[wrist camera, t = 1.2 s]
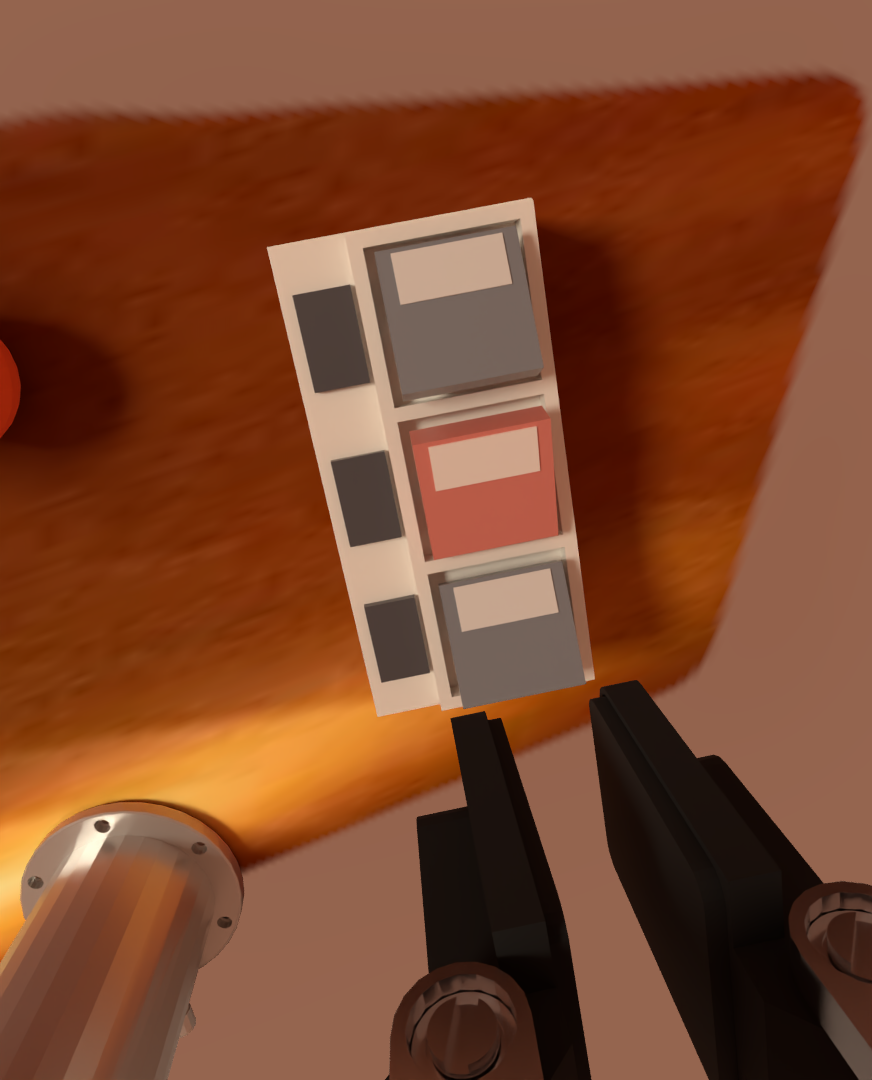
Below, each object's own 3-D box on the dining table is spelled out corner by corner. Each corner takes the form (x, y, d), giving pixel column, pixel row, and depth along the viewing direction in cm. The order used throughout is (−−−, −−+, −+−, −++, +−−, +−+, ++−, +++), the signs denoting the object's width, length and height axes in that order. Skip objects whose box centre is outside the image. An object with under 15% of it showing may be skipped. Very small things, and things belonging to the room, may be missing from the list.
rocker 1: (537, 375, 29) (544, 367, 27) (403, 401, 28) (402, 394, 27) (511, 240, 29) (516, 224, 27) (376, 265, 28) (374, 251, 27)
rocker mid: (550, 519, 32) (558, 536, 31) (430, 543, 32) (434, 561, 31) (541, 405, 29) (550, 419, 28) (409, 431, 29) (412, 446, 28)
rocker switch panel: (567, 631, 40) (599, 681, 34) (377, 670, 40) (377, 727, 34) (509, 217, 33) (537, 192, 28) (282, 259, 33) (263, 244, 27)
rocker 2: (578, 677, 33) (586, 684, 31) (461, 701, 33) (463, 709, 31) (555, 559, 33) (562, 561, 31) (438, 583, 32) (438, 586, 31)
